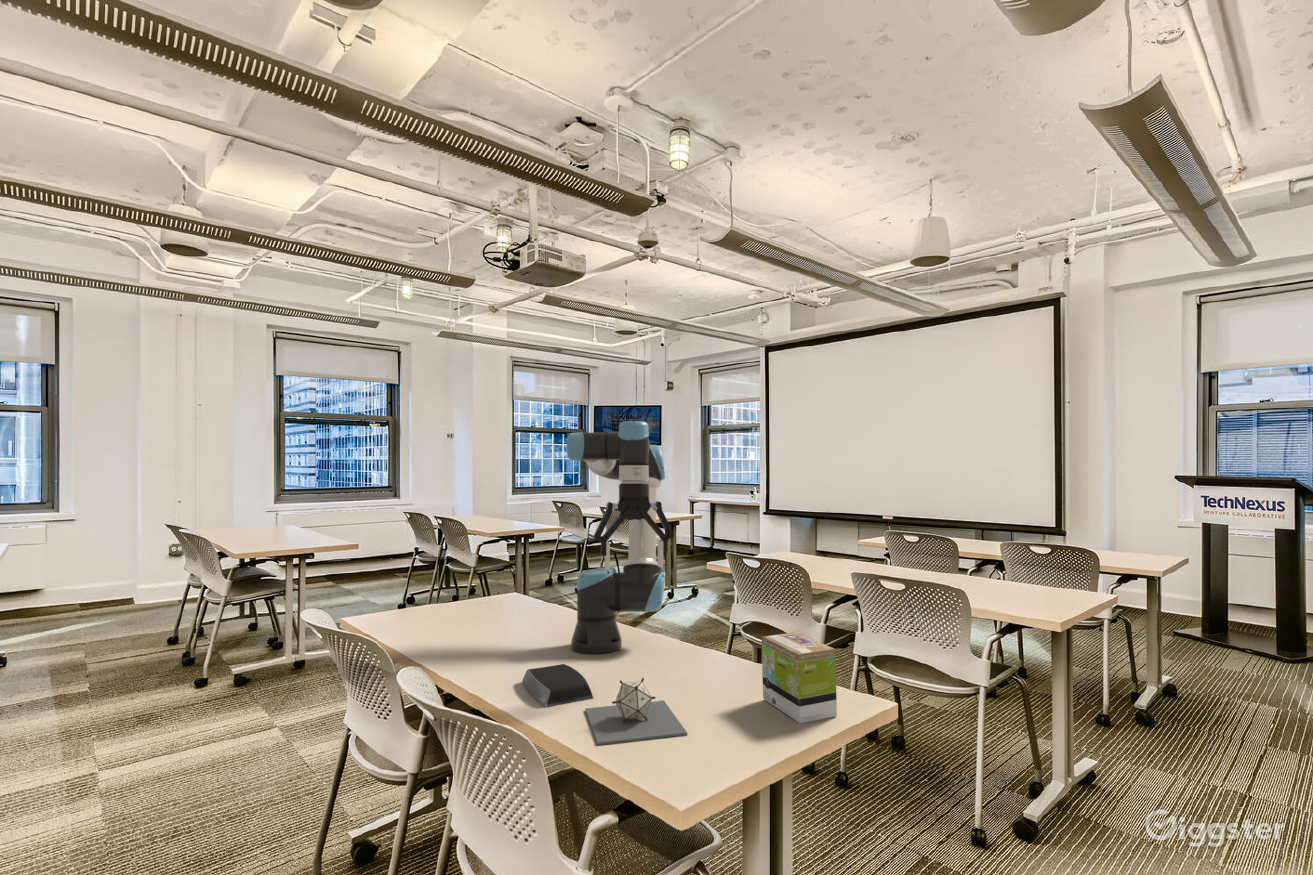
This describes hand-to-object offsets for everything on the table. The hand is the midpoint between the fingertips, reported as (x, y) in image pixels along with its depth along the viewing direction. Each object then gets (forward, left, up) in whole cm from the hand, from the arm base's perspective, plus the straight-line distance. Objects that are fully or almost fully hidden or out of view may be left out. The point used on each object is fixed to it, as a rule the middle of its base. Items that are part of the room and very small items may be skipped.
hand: (634, 568), depth 153 cm
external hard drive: (-2, -19, -29) cm, 35 cm away
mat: (+22, -5, -29) cm, 37 cm away
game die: (+22, -5, -28) cm, 36 cm away
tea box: (+24, +32, -29) cm, 49 cm away
